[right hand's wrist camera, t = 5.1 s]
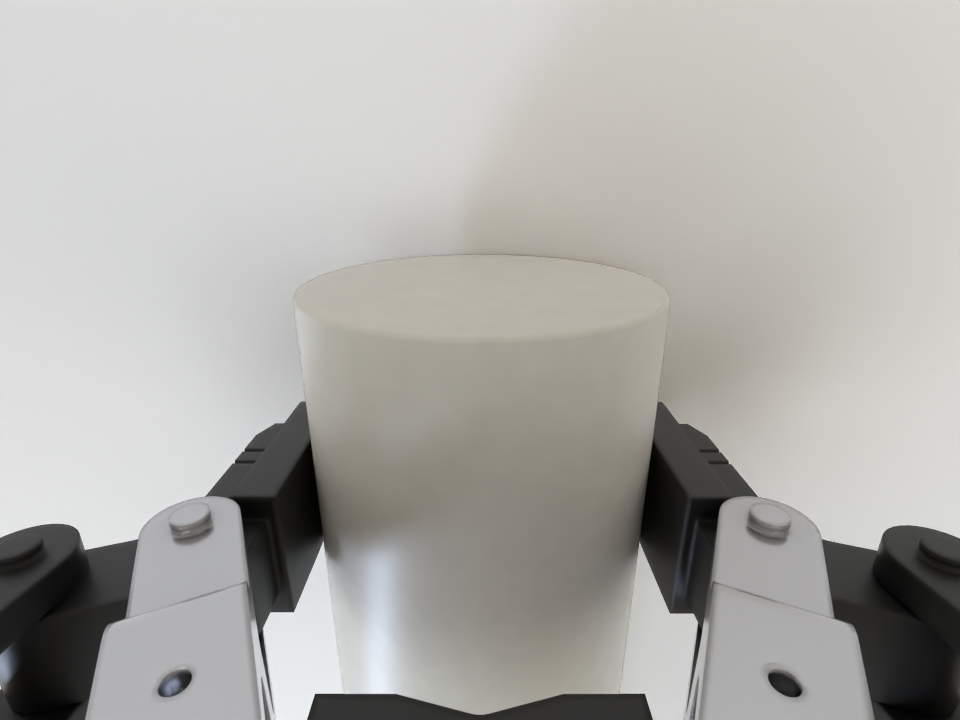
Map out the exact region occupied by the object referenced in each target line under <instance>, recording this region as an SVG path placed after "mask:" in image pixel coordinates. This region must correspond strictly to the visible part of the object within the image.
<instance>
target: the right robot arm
mask: <svg viewBox="0 0 960 720" xmlns="http://www.w3.org/2000/svg"><path fill="white" fill-rule="evenodd" d="M323 541H324V539H323V531H322V523H321V516H320V508H319V500H318V492H317V485H316V477H315V469H314V461H313V453H312V446H311V438H310V430H309V422H308V415H307V407H306V401H302V402H300V403H299V405H298V406H297V407H296V409H295V410H294V411H293V413H292V414H291V415H290V417H289V418H288V419H287V421H286V422H285V423H284V424H274V425H272V426H271V427H269V428H267V429H266V430H264V431H262V432H261V433H259V434H257V435H256V436H255V437H254V438H253V440H252V441H251V442H250V443H249V445H248V446H247V447H246V448H245V452H242V453H241V454H240V455H239V457H238V458H237V459H236V460H235V464H232V465H231V466H230V468H229V469H228V470H227V471H226V472H225V474H224V475H223V476H222V477H221V478H220V480H219V481H218V482H217V483H216V484H215V486H214V487H213V488H212V489H211V491H210V492H209V493H208V494H207V495H206V497H199V498H194V499H190V500H186V501H183V502H180V503H178V504H175V505H173V506H171V507H168V508H166V509H165V510H163V511H161V512H160V513H158V514H157V515H155V516H154V517H153V518H151V519H150V520H149V521H148V522H147V523H146V524H145V525H144V527H143V528H142V530H141V531H140V534H139V538H138V539H137V540H133V541H128V542H123V543H118V544H113V545H108V546H103V547H98V548H93V549H88V550H85V549H84V546H83V543H82V540H81V537H80V534H79V532H78V530H77V529H76V528H74V527H72V526H70V525H65V524H47V525H40V526H35V527H31V528H26V529H23V530H20V531H17V532H14V533H11V534H9V535H6V536H4V537H1V538H0V686H1V688H2V689H1V690H0V720H276V713H275V706H274V699H273V692H272V685H271V677H270V670H269V663H268V656H267V649H266V641H265V636H264V631H263V627H264V625H265V622H266V620H267V618H268V616H269V614H270V612H294V610H295V608H296V606H297V603H298V601H299V598H300V596H301V594H302V591H303V589H304V586H305V584H306V582H307V579H308V577H309V574H310V572H311V570H312V567H313V565H314V562H315V560H316V557H317V555H318V553H319V550H320V548H321V545H322V543H323ZM639 541H640V543H641V546H642V548H643V551H644V553H645V555H646V558H647V560H648V562H649V565H650V567H651V570H652V572H653V574H654V577H655V579H656V581H657V584H658V586H659V588H660V591H661V593H662V596H663V598H664V600H665V603H666V605H667V607H668V610H669V612H670V613H694V615H695V617H696V619H697V621H698V625H697V631H696V636H695V641H694V648H693V656H692V663H691V670H690V677H689V685H688V692H687V699H686V706H685V713H684V720H960V539H959V538H957V537H955V536H952V535H949V534H947V533H944V532H940V531H937V530H933V529H929V528H924V527H918V526H908V525H907V526H895V527H892V528H889V529H887V530H886V531H885V532H884V534H883V536H882V539H881V542H880V545H879V548H878V551H875V550H870V549H865V548H860V547H855V546H850V545H845V544H840V543H835V542H831V541H827V540H823V539H822V538H821V534H820V531H819V530H818V528H817V527H816V525H815V524H814V523H813V522H812V521H811V520H810V519H809V518H807V517H806V516H805V515H803V514H802V513H800V512H799V511H797V510H795V509H794V508H792V507H789V506H787V505H785V504H782V503H780V502H777V501H774V500H770V499H766V498H761V497H758V496H757V495H756V494H755V493H754V491H753V490H752V489H751V488H750V487H749V485H748V484H747V483H746V482H745V481H744V479H743V478H742V477H741V476H740V475H739V473H738V472H737V471H736V470H735V469H734V467H733V466H732V465H731V464H729V463H728V460H727V459H726V458H725V457H724V455H723V454H722V453H719V450H718V448H717V447H716V446H715V445H714V444H713V442H712V441H711V440H710V439H709V438H708V436H706V435H705V434H703V433H701V432H700V431H698V430H696V429H695V428H693V427H691V426H690V425H688V424H679V423H678V422H677V421H676V420H675V418H674V417H673V416H672V414H671V413H670V412H669V410H668V409H667V408H666V406H665V405H664V404H663V403H662V402H657V410H656V417H655V425H654V433H653V440H652V448H651V456H650V463H649V471H648V479H647V486H646V494H645V502H644V509H643V517H642V525H641V532H640V540H639ZM307 720H653V719H652V716H651V712H650V709H649V706H648V703H647V700H646V696H645V694H561V695H558V696H554V697H550V698H546V699H543V700H539V701H535V702H531V703H527V704H524V705H520V706H516V707H512V708H509V709H505V710H501V711H497V712H493V713H490V714H484V715H476V714H470V713H467V712H463V711H459V710H455V709H451V708H448V707H444V706H440V705H436V704H433V703H429V702H425V701H421V700H417V699H414V698H410V697H406V696H402V695H399V694H315V696H314V700H313V703H312V706H311V709H310V712H309V716H308V719H307Z"/></svg>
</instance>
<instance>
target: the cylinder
mask: <svg viewBox="0 0 960 720" xmlns="http://www.w3.org/2000/svg"><path fill="white" fill-rule="evenodd" d="M293 306H294V313H295V321H296V329H297V337H298V345H299V352H300V360H301V368H302V376H303V383H304V391H305V399H306V407H307V415H308V422H309V430H310V438H311V446H312V453H313V461H314V469H315V477H316V485H317V492H318V500H319V508H320V516H321V523H322V531H323V539H324V547H325V555H326V562H327V570H328V578H329V586H330V593H331V601H332V609H333V617H334V625H335V632H336V640H337V648H338V656H339V664H340V671H341V679H342V687H343V694H399V695H402V696H406V697H410V698H414V699H417V700H421V701H425V702H429V703H433V704H436V705H440V706H444V707H448V708H451V709H455V710H459V711H463V712H467V713H470V714H476V715H484V714H490V713H493V712H497V711H501V710H505V709H509V708H512V707H516V706H520V705H524V704H527V703H531V702H535V701H539V700H543V699H546V698H550V697H554V696H558V695H561V694H620V686H621V678H622V671H623V663H624V655H625V648H626V640H627V632H628V625H629V617H630V609H631V602H632V594H633V586H634V579H635V571H636V563H637V556H638V548H639V540H640V532H641V525H642V517H643V509H644V502H645V494H646V486H647V479H648V471H649V463H650V456H651V448H652V440H653V433H654V425H655V417H656V410H657V402H658V394H659V387H660V379H661V371H662V364H663V356H664V348H665V341H666V333H667V325H668V318H669V310H670V296H669V294H668V292H667V290H666V289H665V288H664V287H663V286H662V285H660V284H659V283H657V282H655V281H653V280H652V279H649V278H647V277H645V276H642V275H640V274H637V273H634V272H631V271H627V270H624V269H620V268H616V267H612V266H607V265H602V264H596V263H590V262H584V261H577V260H569V259H560V258H550V257H537V256H520V255H443V256H426V257H413V258H403V259H394V260H386V261H379V262H373V263H367V264H361V265H357V266H352V267H347V268H343V269H339V270H336V271H333V272H329V273H326V274H324V275H321V276H319V277H316V278H314V279H312V280H310V281H308V282H306V283H304V284H303V285H302V286H301V287H299V288H298V289H297V291H296V293H295V294H294V297H293Z"/></svg>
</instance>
